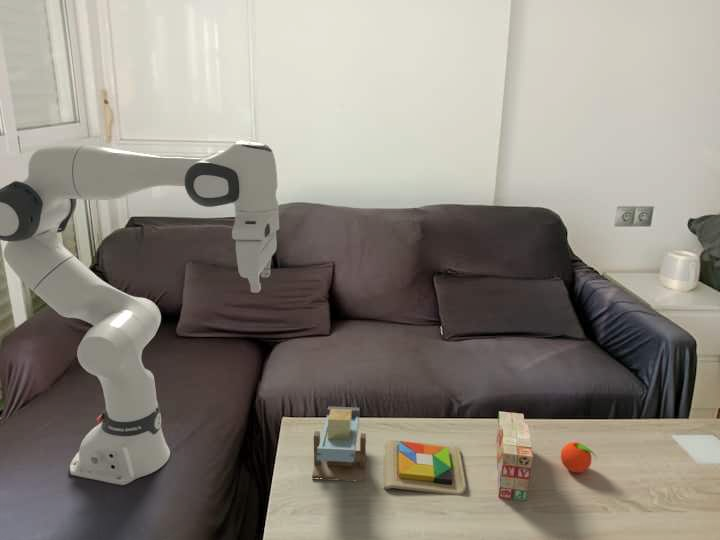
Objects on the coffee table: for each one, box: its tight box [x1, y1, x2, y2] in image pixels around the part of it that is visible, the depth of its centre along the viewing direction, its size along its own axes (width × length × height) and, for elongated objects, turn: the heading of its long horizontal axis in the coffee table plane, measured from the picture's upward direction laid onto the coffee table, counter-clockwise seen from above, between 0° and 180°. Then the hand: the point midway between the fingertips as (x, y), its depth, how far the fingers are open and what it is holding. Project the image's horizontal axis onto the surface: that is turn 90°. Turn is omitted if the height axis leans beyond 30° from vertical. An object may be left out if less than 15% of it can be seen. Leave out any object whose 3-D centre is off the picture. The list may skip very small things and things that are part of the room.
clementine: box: [560, 441, 597, 473], centre depth 136 cm, size 8×7×7 cm
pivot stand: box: [311, 430, 367, 482], centre depth 136 cm, size 10×12×9 cm
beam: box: [317, 405, 360, 462], centre depth 134 cm, size 22×8×3 cm, turn 177°
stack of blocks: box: [496, 411, 534, 502], centre depth 135 cm, size 21×6×12 cm, turn 169°
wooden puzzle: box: [382, 439, 467, 496], centre depth 137 cm, size 18×19×4 cm
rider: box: [328, 409, 352, 441], centre depth 133 cm, size 6×5×5 cm
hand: (261, 283), depth 122 cm, fingers open, 8 cm apart
